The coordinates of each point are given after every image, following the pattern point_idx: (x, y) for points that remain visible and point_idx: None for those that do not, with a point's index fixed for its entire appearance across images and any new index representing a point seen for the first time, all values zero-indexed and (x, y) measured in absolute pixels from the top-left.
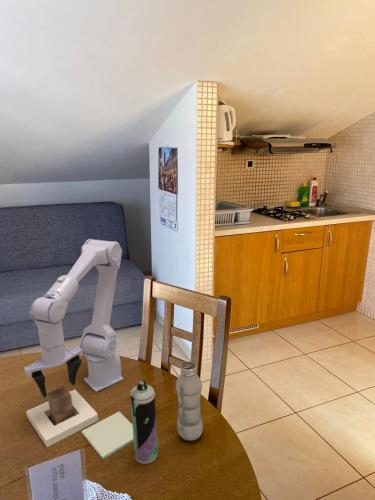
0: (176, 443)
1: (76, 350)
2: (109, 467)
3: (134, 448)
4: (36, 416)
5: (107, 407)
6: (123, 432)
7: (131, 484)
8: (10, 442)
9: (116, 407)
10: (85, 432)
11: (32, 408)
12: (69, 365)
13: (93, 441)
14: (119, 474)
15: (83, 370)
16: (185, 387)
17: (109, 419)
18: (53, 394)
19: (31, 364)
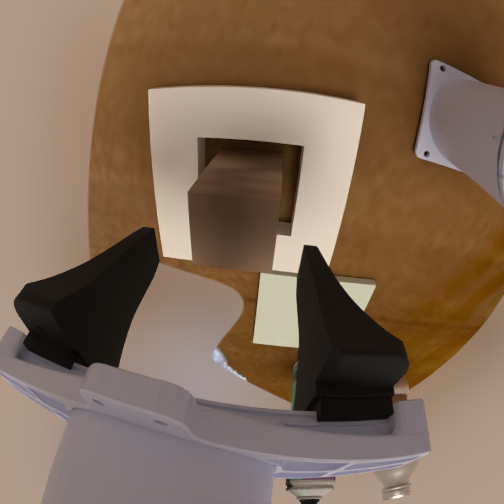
0: None
1: (376, 464)
2: (252, 350)
3: (294, 382)
4: (167, 143)
5: (378, 239)
6: None
7: (259, 376)
8: (101, 164)
9: (391, 257)
10: (265, 282)
11: (170, 89)
12: (308, 360)
13: (263, 311)
14: (256, 363)
15: (457, 15)
16: (375, 475)
17: None
18: (208, 220)
19: (13, 378)
